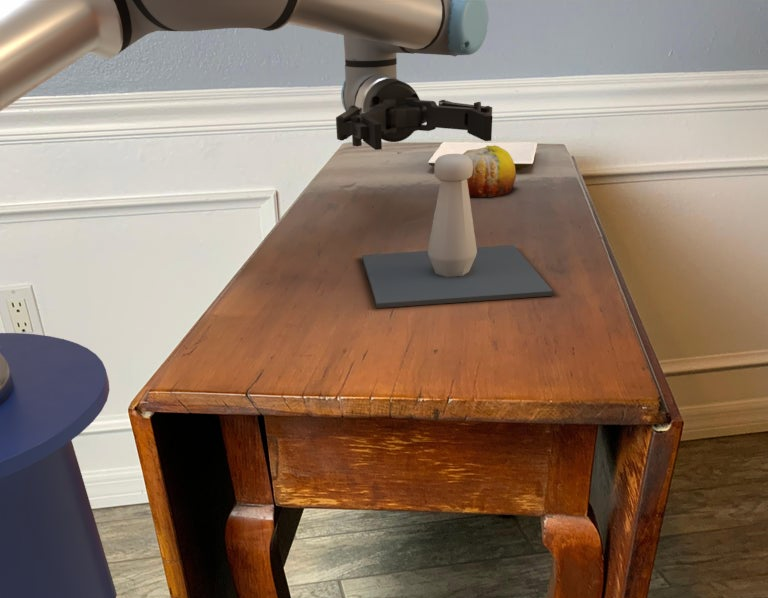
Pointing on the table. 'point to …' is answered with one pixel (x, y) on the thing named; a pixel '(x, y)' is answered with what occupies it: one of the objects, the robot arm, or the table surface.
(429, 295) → the center mat
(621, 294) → the table surface
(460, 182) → the salt shaker
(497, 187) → the fruit
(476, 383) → the table surface
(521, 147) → the plate
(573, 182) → the table surface
